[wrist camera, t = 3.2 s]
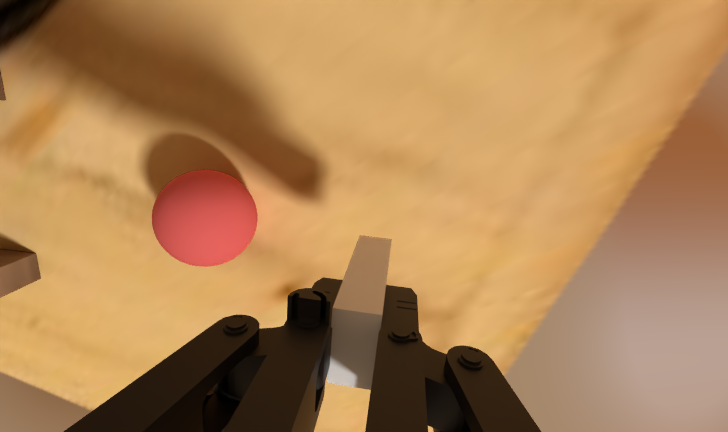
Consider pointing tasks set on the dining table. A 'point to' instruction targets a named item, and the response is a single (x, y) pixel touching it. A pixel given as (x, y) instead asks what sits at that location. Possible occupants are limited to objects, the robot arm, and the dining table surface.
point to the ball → (204, 218)
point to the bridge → (16, 260)
